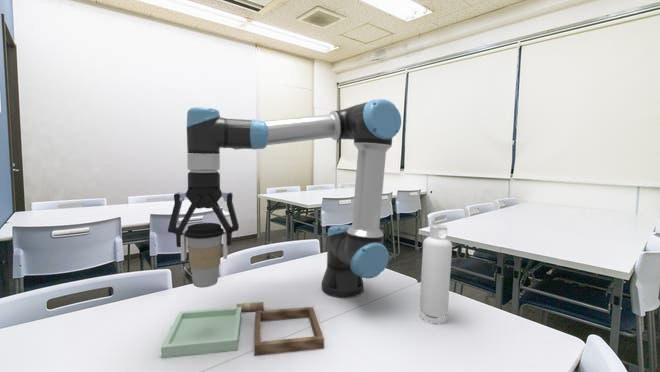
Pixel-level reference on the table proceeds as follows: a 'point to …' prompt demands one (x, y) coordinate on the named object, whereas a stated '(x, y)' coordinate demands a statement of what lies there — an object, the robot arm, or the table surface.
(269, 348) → the walnut frame
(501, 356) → the table surface
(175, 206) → the robot arm
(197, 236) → the coffee cup
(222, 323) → the sage tray
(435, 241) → the bottle
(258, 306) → the birch dowel
